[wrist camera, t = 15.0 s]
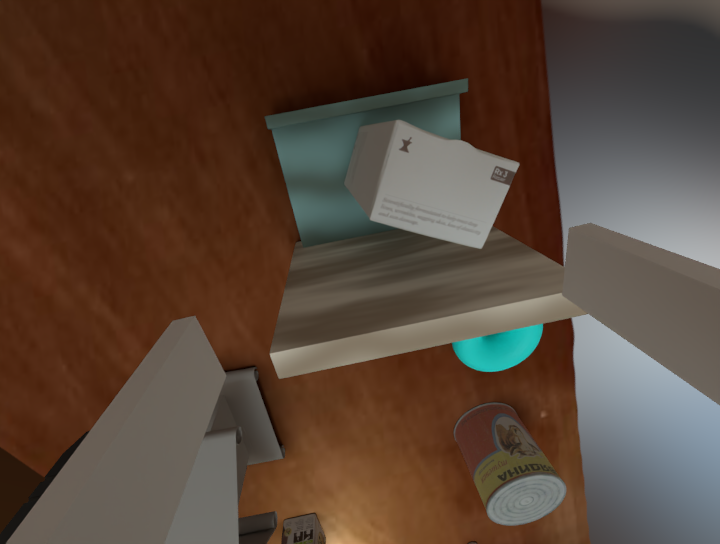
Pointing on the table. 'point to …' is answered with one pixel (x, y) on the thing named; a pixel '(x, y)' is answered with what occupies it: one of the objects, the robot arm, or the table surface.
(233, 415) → the folded metal stand
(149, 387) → the robot arm
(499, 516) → the canned food
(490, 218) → the skincare box
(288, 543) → the coffee box
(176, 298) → the table surface
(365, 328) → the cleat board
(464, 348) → the donuts
